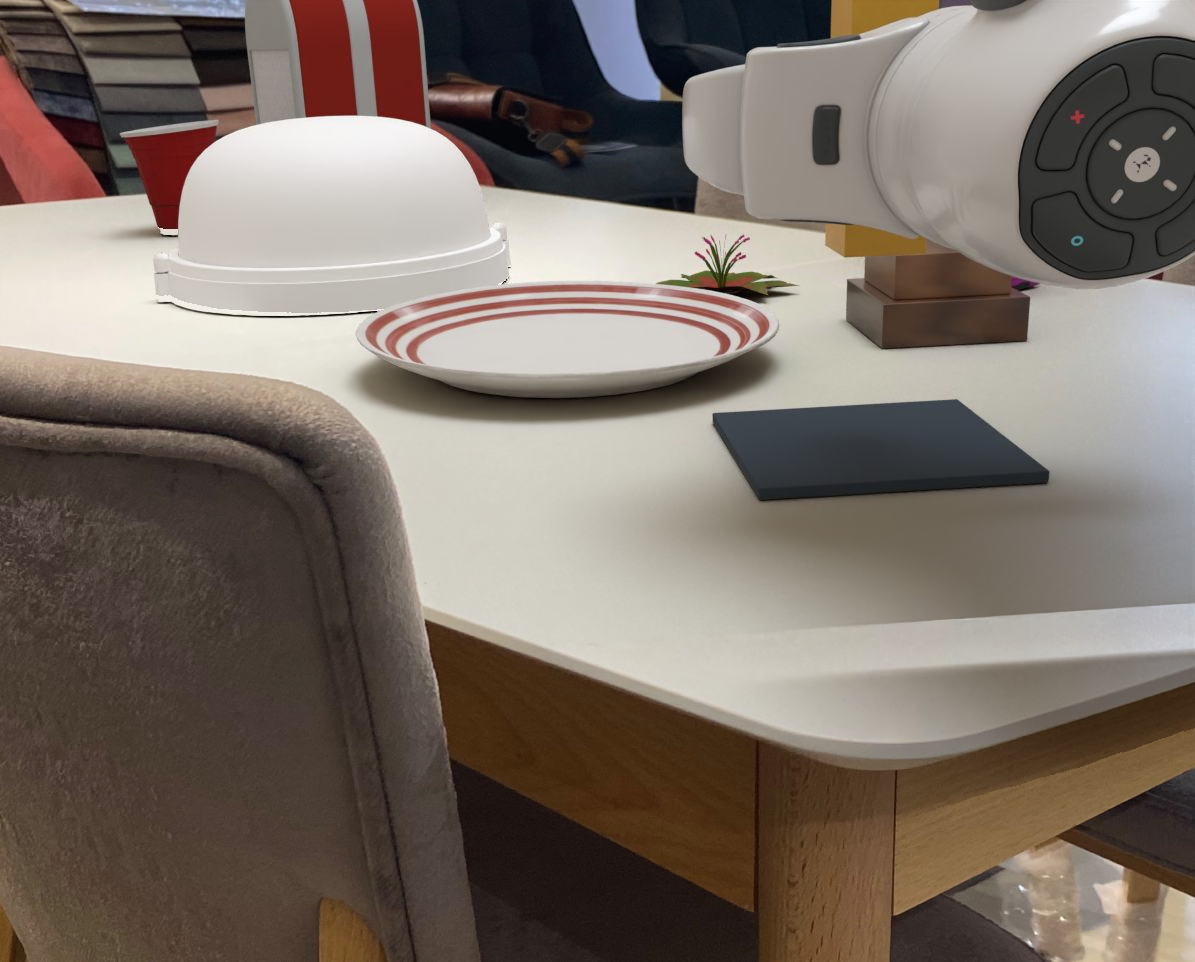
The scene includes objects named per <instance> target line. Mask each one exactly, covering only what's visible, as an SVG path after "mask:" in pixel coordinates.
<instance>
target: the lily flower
mask: <svg viewBox="0 0 1195 962" xmlns="http://www.w3.org/2000/svg"><path fill="white" fill-rule="evenodd" d="M709 237H710V239H711V240H709V239H708V238H706V237H705V236H702V237H701V239H702V240H703V242H704V243H706V244H708V245H709V248H710V251H709V250H708V248H705V252H706V253H707V255H708V256H709V257H710V259H711V261H712V265H713V266H712V265H711V264H710V262H709V260H707V259H706V257H705V256H704V255H703V254H701V253H700V252H698V251H694V255H695V256H696V257H698V258H699V259H700V260H702V261H703V262H704V263H705V265H706V267H707V268H708V269H709V270H703V271H700V272H696V273H692V274H690V275H688V274H683V273H681V274H680V279H668V280H662V281H657V282H656V283H655V284H662V285H672V286H681V287H690V288H697V289H704V290H710V291H715V292H720V293H725V294H734V293H739V292H743V291H744V292H745V291H754V292H756V293H758V294H759V293H760V294H763V295H766V296H769V293H768V289H771V288H774V289H775V288H785V287H799V286H801V285H800V284H795V283H791V282H787V281H784V280H780V279H779V280H778V279H777V277H776V276H775V275H772V274H768V275H767V274H762V273H760V272H756V271H743V272H742V271H741V272H730V270H731V269H732V268H733V266H734V265H735V263H737V261H740V260H744V259H745V258H747V254H742V251H740V252H738V253H737V254H736V255H735V256H734V257H733V258H732V259H731V260H730V261H729V258H730V257H731V256H732V255H733V253H734V252H735V251H736V250H737V249H738V248H739V247H740V245H742V244H743V243H746V242H748V241H750V240H751V238H750V237H746V238H745V234H742V235H740V236H739V237H738V238H737V240H735V241H734V243H733V245H732V246H731V247H730V248H729V250H728V251H727V252H726V251H725V250H723V251H722V246H721V245H719V249H720V252H722V253H723V254H722V255H724V256H723V259H720V256H719V252H718V251H719V249H718V246H717V243H716V241H715V238H714V237H713V235H711V234H710V236H709ZM743 238H744V239H743ZM742 239H743V240H742ZM724 240H727V235H725V236H724ZM740 241H741V242H740ZM712 242H713V243H712ZM718 242H719V243H718V244H721V241H720V239H719V240H718ZM713 244H714V245H713ZM725 244H726V242H724V244H723V247H725V246H726V245H725ZM711 254H712V255H711ZM737 258H738V259H737ZM728 261H729V263H728ZM713 267H714V268H713ZM684 279H685V280H684ZM762 279H763V280H762ZM764 279H768V280H764ZM769 279H773V280H769ZM775 279H777V280H775ZM759 280H761V281H759Z"/></svg>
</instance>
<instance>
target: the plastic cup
mask: <svg viewBox="0 0 1195 962" xmlns="http://www.w3.org/2000/svg"><path fill="white" fill-rule="evenodd" d="M219 121H220V120H219V119H209V120H199V121H190V122H181V123H174V124H166V125H160V126H159V125H158V126H153V127H146V128H139V129H134V130H129V131H123V132H120V133H119V136H120V137H121V138H123V140H124V142H125V143H126V144H127V147H128V149H129V150H130V152H131V155H132V158H133V159H134V161H135V164H136V167H137V169H138V174H139V176H140V179H141V182H142V185H143V188H144V191H145V194H146V197H147V200H148V203H149V205H150V207H151V209H152V210H151V211H152V213H153V216H154V220H155V223H156V226H157V228H158V227H159V228H163V229H178V219H179V207H180V201H181V195H182V190H183V187H184V183H185V180H186V177H187V175H188V173H189V171H190V169H191V167H192V165H193V164H194V162H195V161H196V159H197V158H198V157H199V156H200V155H201V154H202V152H203V151H204V150H205V149H207V148H208V147H209V146H210V145H212V144H213V143H214V142H216V141H217V129H218V127H217V126H218V125H219Z"/></svg>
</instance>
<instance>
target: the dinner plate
mask: <svg viewBox="0 0 1195 962" xmlns="http://www.w3.org/2000/svg"><path fill="white" fill-rule="evenodd" d="M725 293H726V292H722V293H720V292H718V291H717V292H715V291H710V290H704V289H697V288H690V287H681V286H672V285H662V284H656V283H651V282H650V283H647V282H635V281H613V280H612V281H609V280H552V281H550V280H549V281H530V282H517V283H515V282H514V283H503V284H501V285H494V286H485V287H478V288H471V289H464V290H458V291H452V292H447V293H441V294H436V295H431V296H427V297H422V298H419V299H415V300H411V301H407V302H404V303H401V304H398V305H395V306H392V307H389V308H386V309H384V310H381V311H377V312H374V313H373V314H371V315H369V316H368V317H366V318H365V319H364V320H363V321H362V322H361V323H359V325H358V326H357V328H356V330H355V336H356V340H357V341H358V343H359V344H360V345H361V346H362V347H363V348H364V349H366V350H367V351H369V352H370V353H371V354H373V355H374V356H376V357H378V358H380V359H382V360H384V361H386V362H387V363H390V364H392V365H393V366H396V367H399V368H401V369H403V370H405V371H409V372H412V373H414V374H418V375H420V376H422V377H426V378H431V379H434V380H437V381H439V382H441V383H444V384H447V385H449V386H451V387H455V388H458V389H460V390H466V391H470V392H476V393H480V394H487V395H493V396H494V395H496V396H504V397H514V398H536V399H537V398H539V399H569V398H573V399H574V398H590V397H591V398H592V397H603V396H616V395H623V394H631V393H638V392H642V391H649V390H653V389H658V388H662V387H666V386H670V385H672V384H676V383H678V382H681V381H684V380H687V379H689V378H691V377H693V376H695V375H696V374H698V373H700V372H703V371H706V370H709V369H712V368H715V367H717V366H721V365H722V364H725V363H727V362H730V361H732V360H734V359H737V358H738V357H740V356H742V355H744V354H746V353H749V352H751V351H754V350H756V349H758V348H760V347H762V346H764V345H766V344H767V343H769V342H771V341H772V339H774V338H775V337H776V336H777V334H778V332H779V330H780V322H779V319H778V318H777V316H776V314H775V313H774V312H773V311H772V310H770V309H769V308H767V307H766V306H764V305H762V304H760V303H757V302H755V301H752V300H750V299H747V298H744V297H740V296H736V295H733V294H730V293H727V294H725Z"/></svg>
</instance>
